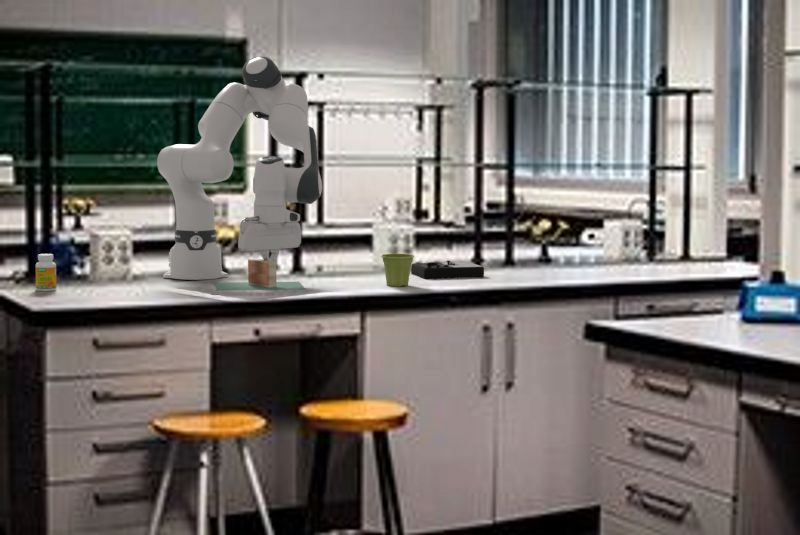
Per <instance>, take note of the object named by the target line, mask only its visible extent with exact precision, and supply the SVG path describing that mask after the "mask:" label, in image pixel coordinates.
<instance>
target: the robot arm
mask: <svg viewBox="0 0 800 535" xmlns="http://www.w3.org/2000/svg"><path fill="white" fill-rule="evenodd" d="M279 69H280V68H279V67H278V66H277V64H276V63H275V62H274V61H273V60H272V59H271V58H270V57H268V56H265V55H261V56H260V55H258V56H255V57H253V58H251V59H248V61H247V62H245V64H244V65H243V67H242V71H241V72H242V79H243V82H244V84H242V83H240V82H230V83H228V84H227V85H226V86H225V87H224V88H222V90H220V92H219V93H218V94H217V95H216V96H215V98H214V99H212V100H213V101H211V103H210V104H209V106H208V108H206V110H205V112H204V114H203V115H202V117H201V119H200V120H199V122H198V124H197V128H198V133H199V135H200V137H201V138H200V140H199V141H198V142H197V143H195V144H188V143H187V144H186V143H185V144H183V143H177V144H173V145H169V146H166V147H164V148H162V149H161V150H160V152H159V153H158V155H157V160H156V162H157V163H156V166H157V169H158V172H159V174H160V175H161V176H162V177H163V178H164V179H165V181H166V182H167V184H168V185H169V187H170V189H171V190H170V191H171V192H172V195H173V200H174V202H175V203H174V205H175V217H176V218H175V219H176V220H175V222H176V224H175V225H176V229H175V230H174V241H175V244H174V245H173V246H172V247H171V248H170V251H169V252H168V262H169V263H168V267H169V270H168V271H166V272H164V273H163V276H162V278H164V279H173V280H174V279H175V280H189V281H190V280H191V281H196V280H197V281H198V280H199V281H200V280H214V279H215V280H216V279H219V278H228V277H229V274H228V273H227V272H225V271H223V270H222V269H223V268H222V266H223V265H222V249H221V248H220V246H218V245H217V244H216V242H217V230H216V229H215V204H214V201H213V200H212V199H211V198H210V197H209V196H208V194H206V192H205V190H204V187H203V184H215V183H219V182H223V181H226V180H228V179H229V178H230V177H231V176H232V173H233V171H234V166H235V163H234V157H233V155H232V154H231V152H230V148H231V145H232V142H233V140H234V138H235V137H236V135H237V133H238V132H239V130H240V129H241V127H242V126H243V124H244V122H245V120H246V119H247V117H248V116H250V114H251V113H252V114H253V116H254V117H255V118H257V119H259V120H260V119H263V120H265V121H268V124H267V125H268V126H267V127H268V131H269V133H270V135H271V136H272V138H273V139H274V140H275V141H277V142H278V143H280V144H282V145H283V146H286V147H291V148H293V149H296V150H299V151H301V152H302V153H303V156H304V158H303V159H304V166H302V167H285V162H284V159H283V158H282V157H280V156H278V155H277V156H276V155H275V156H274V155H268V156H267V155H266V156H261V157H259V158H257V159H256V162H255V166H254V175H253V179H252V180H253V181H252V182H253V183H252V189H253V193H254V195H255V196H254V202H253V216H246V217H244V218H243V219H242V220H241V221H240V223H239V232H238V241H237V247H238V249H239V251H241V252H257V251H258V252H259V251H260V255H261V257H262V259H263V260H271V261H276V262H277V258H278V256H279V254H280V250H282V249H292V248H293V249H294V248H298V247H300V245H301V243H302V231H301V230H302V228H301V224H300V223H299V222H300V220H301V214H300V213H297V212H295V211H292V210H290V209H287V203H299V204H307V205H311V204H313V203H315V202H316V201H317V200H318V199H319V198H320V197H321V194H322V192H323V184H322V182H323V181H322V177H321V174H320V164H319V163H320V162H319V153H318V151H319V150H318V142H317V135H316V131H315V129H314V127H311V126H310V125H309V124H308V122H307V120H308V113H309V112H308V110H309V109H308V108H309V103H308V102H309V101H308V95H307V93H306V91H305V89H304V88H303V87H302V86H300V85H298V84H295V83H286V82H285V79H284V78H283V77H282V75H283V74H282V72H281V71H280V70H279ZM202 183H203V184H202ZM270 253H271V254H270ZM269 254H270V257H269Z"/></svg>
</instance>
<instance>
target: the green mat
mask: <svg viewBox="0 0 800 535" xmlns="http://www.w3.org/2000/svg"><path fill="white" fill-rule="evenodd" d="M213 286H214V288H215V290H216V291H266V290H267V291H268V290H269V291H270V290H271V291H273V290H274V291H279V290H282V291H283V290H284V291H285V290H291V291H292V290H306V288H305V287H304V285H303V284H302V283H301V282H300V281H277V287H270V288H269V287H263V286H256V285H250V284H248V281H246V282H245V281H240V282H238V281H236V282H235V281H234V282H232V281H231V282H226V281H225V282H224V281H223V282H213ZM216 295H217V296H219V294H216Z"/></svg>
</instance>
